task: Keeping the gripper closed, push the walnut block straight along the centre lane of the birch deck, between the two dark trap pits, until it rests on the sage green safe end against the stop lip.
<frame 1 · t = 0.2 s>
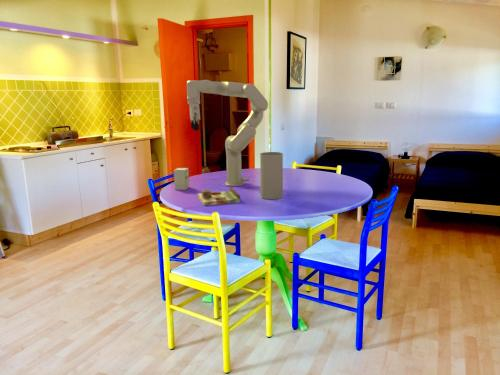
hand: (195, 129, 255), 37 cm above the table, tool pointing down, fingers open, 9 cm apart
cylinder vase: (271, 197, 236), on the table
walnut block: (206, 197, 230), point 2 cm above the table, touching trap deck
supplement box: (182, 188, 261), on the table
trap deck: (218, 199, 232), on the table
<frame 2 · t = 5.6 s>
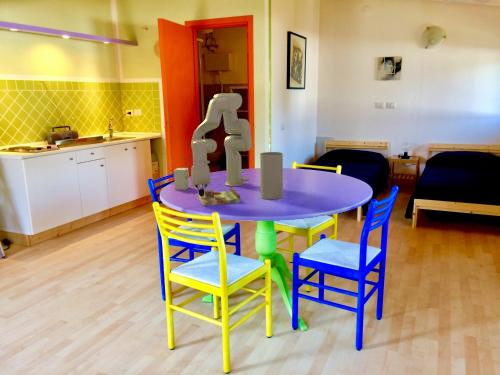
hand: (201, 196, 229), 3 cm above the table, tool pointing down, fingers closed
walnut block: (209, 197, 230), point 2 cm above the table, touching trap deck
everything else where it was.
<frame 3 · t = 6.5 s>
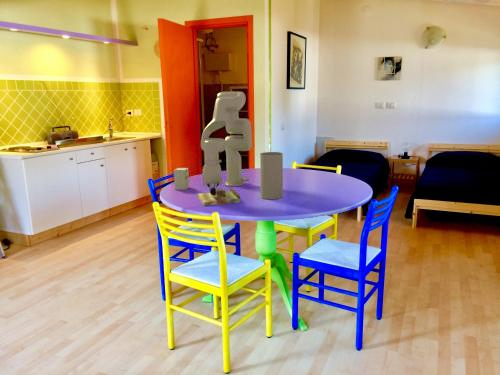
hand: (213, 195, 231), 3 cm above the table, tool pointing down, fingers closed
walnut block: (221, 196, 232), point 2 cm above the table, touching gripper, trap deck
everything else where it was.
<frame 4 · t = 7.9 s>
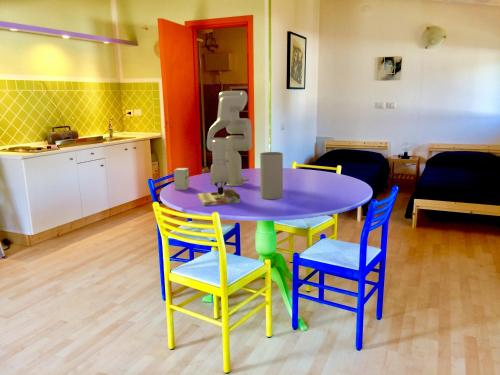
hand: (220, 194, 232), 3 cm above the table, tool pointing down, fingers closed
walnut block: (228, 195, 233), point 2 cm above the table, touching gripper, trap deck
everything else where it was.
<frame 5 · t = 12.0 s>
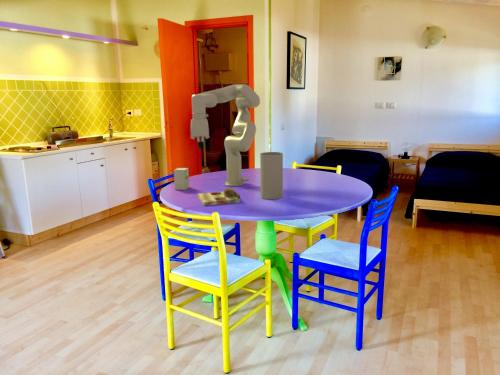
hand: (200, 148, 240), 27 cm above the table, tool pointing down, fingers closed
walnut block: (228, 195, 233), point 2 cm above the table, touching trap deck
everything else where it was.
at the end: walnut block 0.8 cm from the target spot on the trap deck, point 2.0 cm above the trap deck's base; walnut block tilted 0° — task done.
